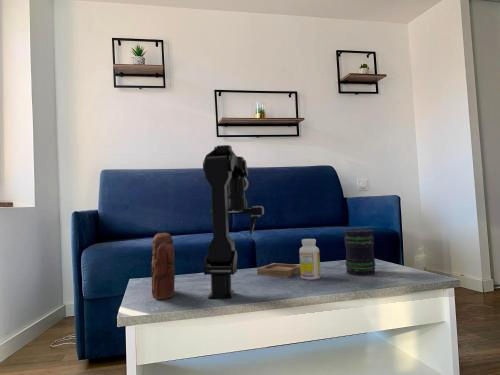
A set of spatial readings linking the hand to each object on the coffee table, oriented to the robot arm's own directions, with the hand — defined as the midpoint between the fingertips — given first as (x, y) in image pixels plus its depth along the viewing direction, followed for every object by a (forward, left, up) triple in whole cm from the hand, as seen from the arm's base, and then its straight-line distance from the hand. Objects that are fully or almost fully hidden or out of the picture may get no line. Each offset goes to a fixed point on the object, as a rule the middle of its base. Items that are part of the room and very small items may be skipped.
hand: (238, 234), depth 126 cm
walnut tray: (+1, -15, -14) cm, 20 cm away
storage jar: (-2, -43, -15) cm, 45 cm away
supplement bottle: (-8, -25, -15) cm, 30 cm away
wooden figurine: (-26, +20, -15) cm, 36 cm away
